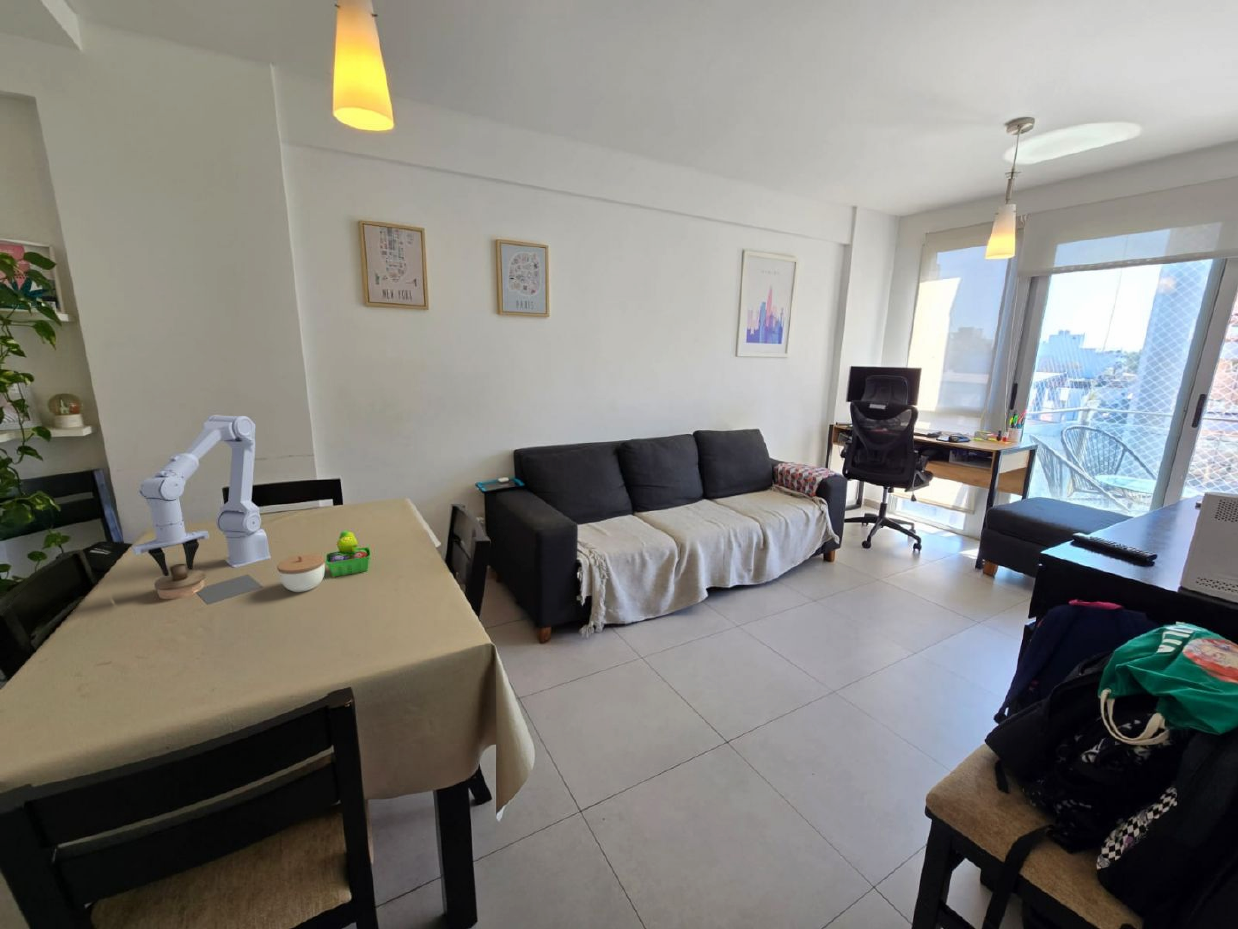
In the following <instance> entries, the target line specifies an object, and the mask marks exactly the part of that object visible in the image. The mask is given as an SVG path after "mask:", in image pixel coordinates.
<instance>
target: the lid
mask: <svg viewBox="0 0 1238 929" xmlns="http://www.w3.org/2000/svg"><path fill="white" fill-rule="evenodd" d="M169 569H170V573H171V574H169V575H168V576H162V577H161V578H159V579H157V580H156V581H155V582H154V584H153V585H154V589H156V591H157V590H175V589H180V588H184V587H188V586H191V585H194V584H196V583H198V582H200V581H202V580H203V579H205V578H206V573H205V572H204V571H203V570H198V569H197V570H196V569H191V570H189V569H188V570H187V565H186V563H177V564H174V565H173V564H172V565H171V566H170V567H169Z"/></svg>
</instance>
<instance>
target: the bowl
mask: <svg viewBox="0 0 1238 929" xmlns="http://www.w3.org/2000/svg"><path fill="white" fill-rule="evenodd" d="M204 579H205V578H204ZM204 579H203V580H202V581H200V582H198V583H196V584H194V585H191V586H188V587H184V588H180V589H175V590H157V589H156V591H157V595H158V597H159V598H160V599H163V600H175V599H181V598H185V597H188V596H190V595H191V596H192V595H193V594H197V593H196V592H198V591H199V590H201V589H202V588H203V587H205V580H204Z"/></svg>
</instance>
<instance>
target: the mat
mask: <svg viewBox="0 0 1238 929" xmlns="http://www.w3.org/2000/svg"><path fill="white" fill-rule="evenodd" d="M262 588H264V586H263V585H262V584H260V583H259V582H258V581H257V580H256V579H255V578H253V577H252V576H250V574H248V573H247V574H244V575H241V576H237V577H234V578H230V579H227V580H224V581H221V582H217V583H213V584H210V585H206V586H204V587H203V588H202V589H201V590H199V591H198V592H196V593H195V594H197V596H199V597H200V598H201V600H203V601H204V603H206V604H207V605H211V604H214V603H215V604H216V603H218V602H221V601H223V600H227V599H230V598H231V599H232V598H234V597H236V596H237V597H238V596H239V595H243V594H246V593H251V592H252V591H256V590H260V589H262Z"/></svg>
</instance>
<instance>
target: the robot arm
mask: <svg viewBox="0 0 1238 929" xmlns="http://www.w3.org/2000/svg"><path fill="white" fill-rule="evenodd" d="M202 427H203V429H202V431H201V432H200V433H199V434H198V435H197V437H196V438H195V439H194V440H193V442H192V443H191V444H190V445H189V446H188V448H187V449H186V450H185V452H184V453H176V454H175V455H171V456H170V458H169V461H168V462H166V464H165V465H163V467H162V468H161V469H159V470H158V471H157V472H156V474H155V475H154V476H151V477H148V478H146V479H145V480H143V482H141V485H140V489H139V490H138V493H139V495H140V496H141V497H142V498H143V499H145V501H146V504H147V505H148V508H149V510H150V516H151V520H152V525H153V531H154V536H155V538H156V539H153V540H151V541H147V542H143V543H139V544H136V545H132V551H133V554H134V555H135V556H139V555H142V554H143V553H144V554H145V553H148V554H149V555H150V556H151V557H152V558H153V560H154V561H155V562H156V564H157V565H158V566H159V568H160V569H161V571H162V575H163V577H165V576H168V575H170V574H169V570H168V566H167V562H166V554H165V552H164V550H163V549H165V548H166V549H167V548H169V547H173V546H178V545H182V547H183V552H184V555H185V565H186V569H187V570H188V571H189V570H194V562H195V561H194V560H195V556H196V553H197V551H198V549H199V547H200V543H199V541H201V540H207V539H210V536H209V531H207V530H206V529H203V530H199V531H194V532H193V531H191V532H186V528H185V522H184V517H183V512H182V508H181V502H180V497H181V496H182V495H183V494H184V491H185V485H186V483H187V481H188V480H189V479H190V478H191V476H192V475H193V474H194V473H195V472H196V471H197V470H198V469H199V468H200V462H199V461H200V460H201V459H202V458H203V457H204V456H205V455H206V454H207V453H208V452H210V450H211V449H212V448H214V447H215V446H216V445H217V444H218V443H219V442H224V443H226V444H227V445H228V446H229V447H230V448H231V462H230V474H229V487H228V498H227V499H228V501H227V502H226V503H224V504H222V506H220V509H219V514H218V516H217V518H216V521H215V523H216V528H217V529H218V530H219V531H221V532H222V534H223V536H225V538H226V544H227V551H228V556H229V558H227V559H225V562H226V563H227V564H229V565H230V566H231V567H232V568H239V567H243V566H245V565H250V564H253V563H257V562H260V561H264V560H267V559H271V558H272V556H271V554H270V548H269V541H268V537H267V533H266V531H265V530H264V528H261V524H262V518H261V514H260V511H261V510H260V507H259V506H258V505H256V504H255V503H254V502H253V501H252V498H253V497H252V496H253V482H254V470H255V459H256V458H255V456H256V439H255V436H256V427H257V426H256V424H255V422H253V421H252V420H251V418H249V417H248V416H246V415H237V416H236V415H220V414H214V415H211V416H210V417H209V418H208V419H207V420H206V421H205V422H204V423H203V425H202Z"/></svg>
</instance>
